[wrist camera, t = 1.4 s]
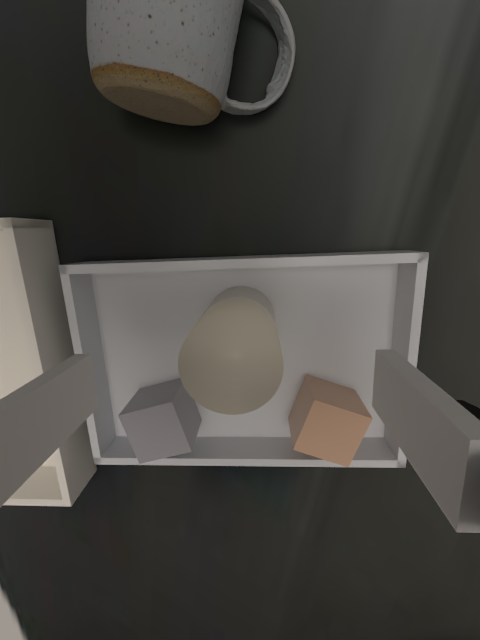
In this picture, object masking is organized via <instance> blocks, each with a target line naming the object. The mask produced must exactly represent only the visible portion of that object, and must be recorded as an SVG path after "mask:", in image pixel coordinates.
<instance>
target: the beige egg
mask: <svg viewBox="0 0 480 640" xmlns="http://www.w3.org/2000/svg"><path fill="white" fill-rule="evenodd" d="M283 370H284V364H283V356H282V351H281V345H280V340H279V334H278V329H277V323H276V318H275V313H274V309H273V306H272V304H271V302H270V301H269V299H268V298H267V297H266V296H265V295H264V294H263V293H261V292H260V291H258V290H256V289H254V288H251V287H247V286H235V287H231V288H228V289H226V290H224V291H222V292H221V293H220V294H218V295H217V296H216V298H215V299H214V300H213V301H212V303H211V304H210V306H209V307H208V308H207V310H206V311H205V312H204V314H203V315H202V316H201V318H200V319H199V321H198V322H197V323H196V325H195V326H194V327H193V329H192V330H191V331H190V333H189V334H188V336H187V337H186V339H185V340H184V342H183V344H182V346H181V348H180V352H179V356H178V371H179V376H180V379H181V382H182V384H183V386H184V388H185V389H186V391H187V392H188V394H189V395H190V396H191V397H192V398H193V399H194V400H195V401H196V402H197V403H199V404H200V405H201V406H203V407H205V408H206V409H209V410H211V411H213V412H217V413H220V414H226V415H239V414H245V413H248V412H252V411H254V410H256V409H258V408H260V407H262V406H263V405H265V404H266V403H267V402H268V401H269V400H270V399H271V398H272V397H273V396H274V395H275V393H276V392H277V390H278V388H279V386H280V384H281V381H282V377H283Z"/></svg>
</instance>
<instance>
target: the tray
mask: <svg viewBox="0 0 480 640" xmlns="http://www.w3.org/2000/svg"><path fill="white" fill-rule="evenodd" d="M428 257H429V252H421V251H411V250H394V251H366V252H338V253H310V254H282V255H255V256H227V257H199V258H171V259H143V260H115V261H87V262H77V263H71V264H64V265H58V267H59V272H60V278H61V283H62V289H63V294H64V300H65V305H66V311H67V316H68V322H69V327H70V333H71V338H72V344H73V349H74V354H91V360H92V366H93V372H94V379H95V385H96V391H97V398H98V404H99V407H98V408H97V409H96V410H95V411H94V412H93V413H92V414H91V415H90V416H89V417H88V418H87V419H86V421H87V426H88V432H89V437H90V443H91V448H92V454H93V459H94V464H102V465H196V466H289V467H345V466H342V465H339V464H336V463H333V462H330V461H326V460H323V459H320V458H317V457H314V456H311V455H308V454H304V453H301V452H298V451H295V450H293V447H292V440H291V434H290V427H289V420H288V416H289V414H290V411H291V409H292V407H293V404H294V402H295V399H296V397H297V394H298V392H299V390H300V387H301V385H302V382H303V380H304V377H305V375H306V374H308V375H311V376H314V377H317V378H320V379H323V380H326V381H330V382H333V383H336V384H339V385H342V386H345V387H348V388H351V389H354V390H356V392H357V394H358V395H359V397H360V399H361V400H362V402H363V404H364V405H365V407H366V408H367V410H368V412H369V413H370V415H371V417H372V418H373V419H372V421H371V423H370V425H369V427H368V429H367V431H366V433H365V435H364V437H363V439H362V441H361V443H360V445H359V447H358V449H357V451H356V453H355V455H354V457H353V459H352V461H351V463H350V465H349V467H383V468H405V467H406V456H405V455H404V453H403V452H402V450H401V449H400V447H399V446H398V444H397V443H396V441H395V440H394V438H393V437H392V435H391V434H390V432H389V431H388V429H387V428H386V426H385V425H384V423H383V422H382V420H381V419H380V417H379V416H378V414H377V413H376V411H375V410H374V408H373V407H372V397H373V382H374V367H375V352H376V350H383V349H394V350H395V351H396V352H397V353H399V354H400V355H401V356H402V357H403V358H405V359H406V360H407V361H408V362H409V363H411V364H412V365H413V366H414V367H417V358H418V348H419V339H420V330H421V321H422V312H423V303H424V293H425V284H426V275H427V266H428ZM235 286H247V287H251V288H254V289H256V290H258V291H260V292H261V293H263V294H264V295H265V296H266V297H267V298H268V299H269V301H270V302H271V304H272V306H273V309H274V313H275V318H276V323H277V329H278V334H279V340H280V345H281V351H282V356H283V364H284V370H283V377H282V381H281V384H280V386H279V388H278V390H277V392H276V393H275V395H274V396H273V397H272V398H271V399H270V400H269V401H268V402H267V403H266V404H265V405H263V406H262V407H260V408H258V409H256V410H254V411H252V412H248V413H245V414H239V415H226V414H220V413H217V412H213V411H211V410H209V409H206V408H205V407H203V406H201V405H200V404H199V403H197V402H196V401H195V403H196V405H197V408H198V411H199V413H200V416H201V419H202V421H201V424H200V427H199V430H198V434H197V437H196V440H195V443H194V446H193V449H192V452H189V453H184V454H180V455H176V456H171V457H167V458H163V459H158V460H154V461H150V462H145V463H141V464H139V462H138V460H137V457H136V455H135V453H134V451H133V448H132V446H131V444H130V442H129V439H128V437H127V435H126V433H125V430H124V428H123V426H122V424H121V421H120V419H119V417H118V415H119V414H120V412H121V411H122V410H123V409H124V407H125V406H126V405H127V404H128V402H129V401H130V400H131V399H132V397H133V396H134V395H135V393H136V392H137V391H138V390H139V389H140V388H144V387H147V386H151V385H155V384H159V383H162V382H166V381H170V380H174V379H177V378H180V376H179V371H178V356H179V352H180V348H181V346H182V344H183V342H184V340H185V339H186V337H187V336H188V334H189V333H190V331H191V330H192V329H193V327H194V326H195V325H196V323H197V322H198V321H199V319H200V318H201V316H202V315H203V314H204V312H205V311H206V310H207V308H208V307H209V306H210V304H211V303H212V301H213V300H214V299H215V298H216V296H217V295H218V294H220V293H221V292H222V291H224V290H226V289H228V288H231V287H235Z"/></svg>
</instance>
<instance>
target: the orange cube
mask: <svg viewBox="0 0 480 640" xmlns="http://www.w3.org/2000/svg"><path fill="white" fill-rule="evenodd" d="M372 419H373V418H372V417H371V415H370V413H369V412H368V410H367V408H366V407H365V405H364V404H363V402H362V400H361V399H360V397H359V395H358V394H357V392H356V390H354V389H351V388H348V387H345V386H342V385H339V384H336V383H333V382H330V381H326V380H323V379H320V378H317V377H314V376H311V375H308V374H306V375H305V377H304V380H303V382H302V385H301V387H300V390H299V392H298V394H297V397H296V399H295V402H294V404H293V407H292V409H291V411H290V414H289V416H288V420H289V427H290V434H291V440H292V447H293V450H295V451H298V452H301V453H304V454H308V455H311V456H314V457H317V458H320V459H323V460H326V461H330V462H333V463H336V464H339V465H342V466H345V467H349V465H350V463H351V461H352V459H353V457H354V455H355V453H356V451H357V449H358V447H359V445H360V443H361V441H362V439H363V437H364V435H365V433H366V431H367V429H368V427H369V425H370V423H371V421H372Z"/></svg>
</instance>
